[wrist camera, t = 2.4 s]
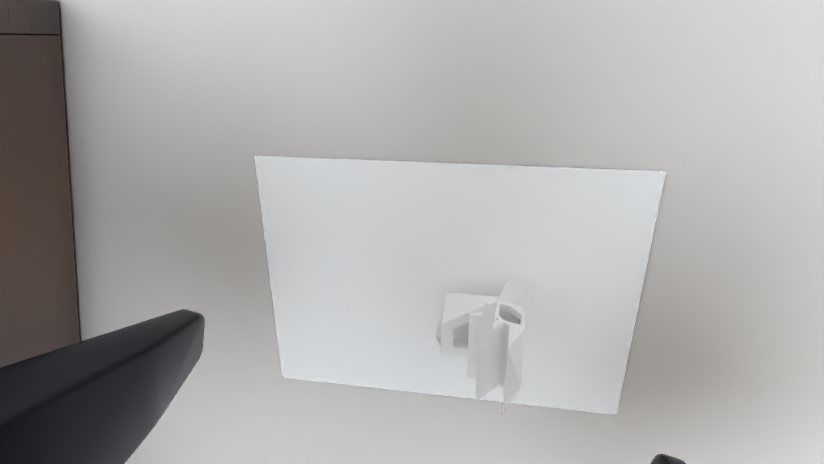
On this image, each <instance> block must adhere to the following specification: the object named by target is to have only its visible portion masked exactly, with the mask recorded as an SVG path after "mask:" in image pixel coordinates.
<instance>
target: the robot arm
mask: <svg viewBox="0 0 824 464" xmlns="http://www.w3.org/2000/svg"><path fill="white" fill-rule="evenodd" d="M204 325H205V319H204V316H203V315H202V314H200V313H196V312H193V311H190V310H186V309H182V310H178V311H175V312H172V313H169V314H166V315H162V316H159V317H156V318H153V319H150V320H147V321H144V322H141V323H138V324H134V325H131V326H128V327H125V328H122V329H119V330H116V331H113V332H110V333H107V334H103V335H100V336H97V337H94V338H91V339H88V340H85V341H82V342H79V343H75V344H72V345H69V346H66V347H63V348H60V349H57V350H54V351H51V352H48V353H44V354H41V355H38V356H35V357H32V358H29V359H26V360H23V361H19V362H16V363H13V364H10V365H7V366H4V367H1V368H0V464H124V463H125V462H126V461H127V460H128V459H129V457H130V456H131V455H132V454H133V452H134V451H135V450H136V449H137V447H138V446H139V445H140V444H141V443H142V441H143V440H144V439H145V438H146V436H147V435H148V434H149V433H150V431H151V430H152V429H153V427H154V426H155V425H156V423H157V422H158V420H159V419H160V418H161V416H162V415H163V413H164V412H165V410H166V409H167V407H168V406H169V404H170V402H171V401H172V399H173V398H174V396H175V395H176V393H177V392H178V390H179V389H180V387H181V386H182V384H183V383H184V381H185V380H186V378H187V377H188V375H189V374H190V372H191V370H192V369H193V367H194V366H195V364H196V363H197V361H198V360H199V358H200V356H201V353H202V350H203V340H204ZM651 464H686V463H685V462H684V461H682V460H680V459H678V458H675V457H671V456H668V455H665V454H658V455H657V456H655V458H654V459H653V461H652V462H651Z"/></svg>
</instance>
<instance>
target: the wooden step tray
mask: <svg viewBox="0 0 824 464" xmlns="http://www.w3.org/2000/svg"><path fill="white" fill-rule="evenodd" d="M57 34H60V20H59V4H58V1H56V0H0V368H1V367H4V366H7V365H10V364H13V363H16V362H19V361H23V360H26V359H29V358H32V357H35V356H38V355H41V354H44V353H48V352H51V351H54V350H57V349H60V348H63V347H66V346H69V345H72V344H75V343H79V342H80V336H79V320H78V305H77V289H76V273H75V258H74V242H73V226H72V211H71V195H70V179H69V164H68V148H67V132H66V117H65V101H64V85H63V70H62V54H61V38H60V36H59V35H57Z"/></svg>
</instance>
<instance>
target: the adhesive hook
mask: <svg viewBox="0 0 824 464" xmlns="http://www.w3.org/2000/svg"><path fill="white" fill-rule="evenodd" d="M537 287H538V285H537V284H536V283H535V282H534V281H533V280H529V279H524V278H519V277H514V276H509V277H508V279H507V281H506V283H505V285H504V286H503V288H502V290H501V292H500V294H499V296H498V295H485V294H472V293H460V292H446V293H445V297H444V301H443V305H442V308H441V312H440V316H439V320H438V323H437V327H436V331H435V335H434V339H433V343H434V344H435V346H436V348H437V350H438V352H439V354H440V356H441V357H450V358H460V359H466V373H465V375H466V378H467V379H475V394H474V396H475V397H476V398H477V399H478V400H482V399H483V398H484V397H486V396H487V395H488V394H489V393H491V392H492V391H493V390H495V389H496V388H497V387H501V388H503V395H502V402H503V409H502V414H503V413H504V411H505V410H506V408H507V407H508V405H509V404H510V403H511V402H512V401H513V399H514V398H515V396H516V395H517V393H519V392H520V390H521V388H522V379H523V365H524V350H525V335H526V316H527V314H528V312H529V310H530V307H531V305H532V302H533V299H534V296H535V293H536V290H537Z"/></svg>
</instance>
